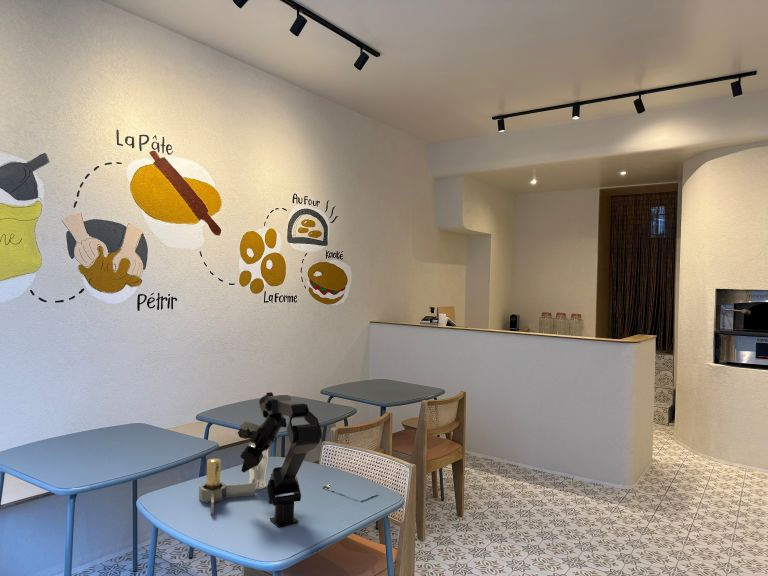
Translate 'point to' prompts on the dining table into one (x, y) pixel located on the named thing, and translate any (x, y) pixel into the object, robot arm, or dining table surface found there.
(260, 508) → the dining table surface
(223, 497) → the grey ring with arms
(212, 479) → the hinge pin
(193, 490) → the dining table surface
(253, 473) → the beer glass
